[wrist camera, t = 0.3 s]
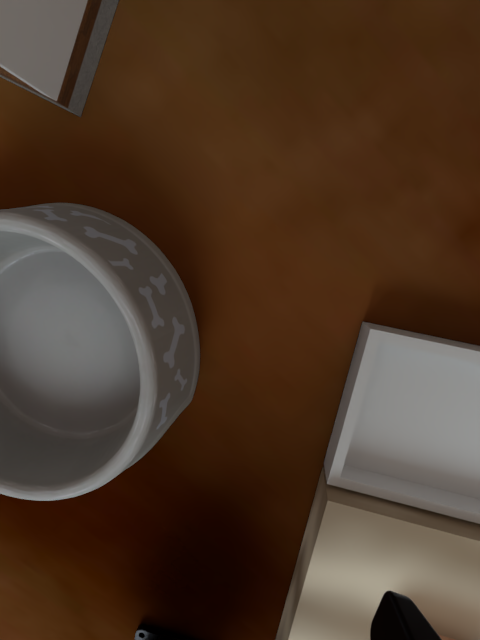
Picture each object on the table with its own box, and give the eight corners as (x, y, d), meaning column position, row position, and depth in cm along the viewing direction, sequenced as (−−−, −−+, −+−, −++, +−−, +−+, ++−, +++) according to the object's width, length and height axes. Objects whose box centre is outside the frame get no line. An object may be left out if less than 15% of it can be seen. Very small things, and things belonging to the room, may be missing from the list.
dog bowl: (255, 342, 21) (243, 372, 16) (84, 505, 25) (29, 570, 20) (57, 144, 20) (-24, 106, 15) (-83, 345, 25) (-184, 369, 19)
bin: (559, 523, 20) (589, 552, 18) (323, 462, 21) (326, 483, 19) (628, 376, 18) (669, 391, 16) (362, 321, 19) (370, 328, 17)
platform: (469, 718, 23) (494, 784, 20) (271, 654, 25) (268, 707, 22) (557, 527, 20) (603, 574, 17) (322, 467, 21) (327, 500, 18)
